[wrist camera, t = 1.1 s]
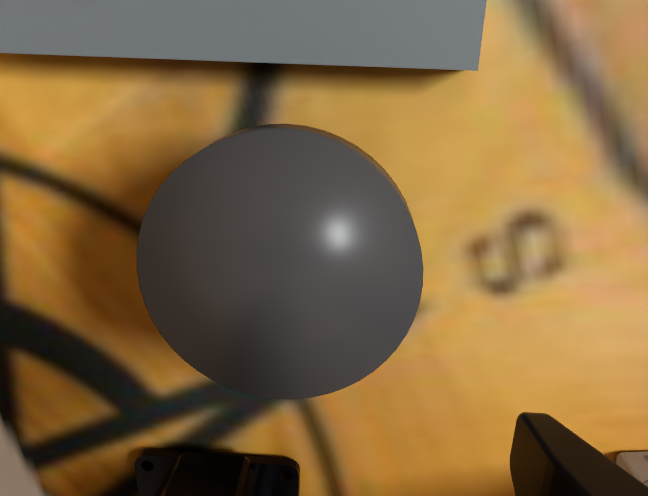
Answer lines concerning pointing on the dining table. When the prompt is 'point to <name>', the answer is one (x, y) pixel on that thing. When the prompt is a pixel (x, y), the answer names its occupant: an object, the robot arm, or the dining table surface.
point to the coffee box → (635, 464)
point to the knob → (281, 262)
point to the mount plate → (252, 31)
